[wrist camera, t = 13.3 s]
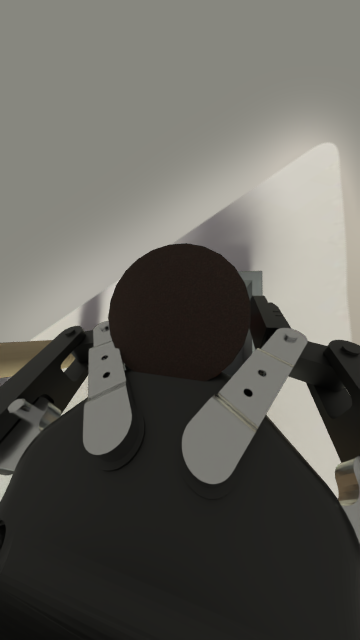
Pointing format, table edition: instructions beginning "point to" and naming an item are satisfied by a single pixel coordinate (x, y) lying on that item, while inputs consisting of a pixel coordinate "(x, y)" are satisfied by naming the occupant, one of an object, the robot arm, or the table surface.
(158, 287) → the deodorant
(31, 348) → the handle
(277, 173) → the table surface
